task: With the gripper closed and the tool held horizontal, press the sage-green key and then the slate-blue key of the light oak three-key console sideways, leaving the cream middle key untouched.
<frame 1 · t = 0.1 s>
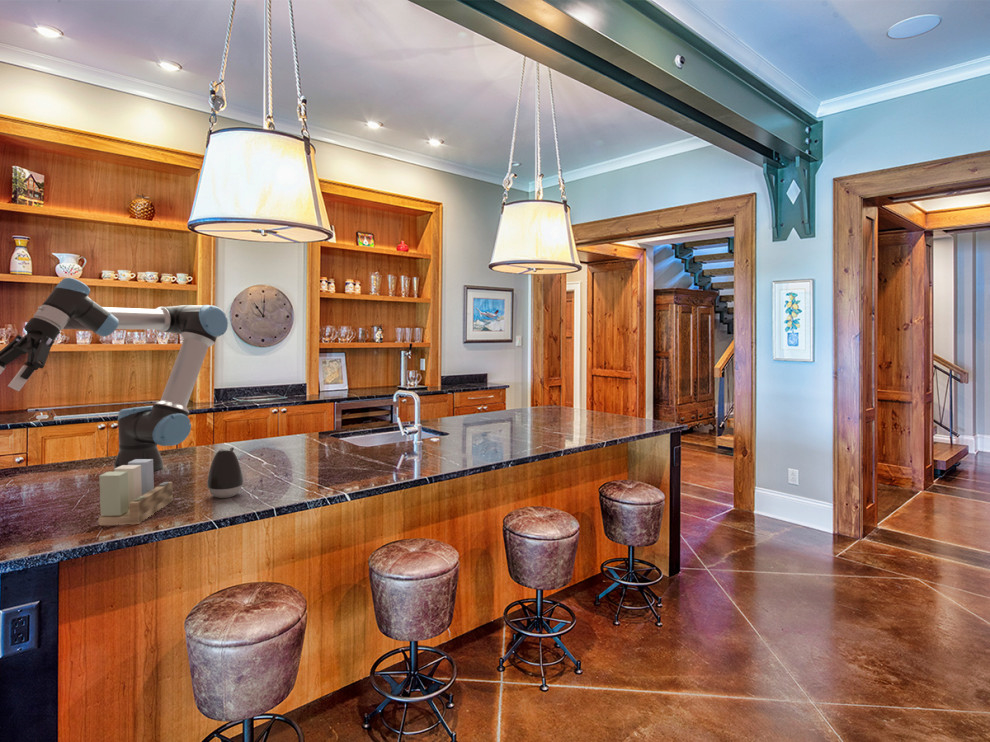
cream key: (128, 485, 155), point 8 cm above the countertop, slide at 0.0 cm
sage key: (114, 493, 148), point 8 cm above the countertop, slide at 0.0 cm
slate key: (141, 479, 162), point 8 cm above the countertop, slide at 0.0 cm
key console: (129, 512, 156), on the countertop
pump dispenser: (225, 496, 173), on the countertop
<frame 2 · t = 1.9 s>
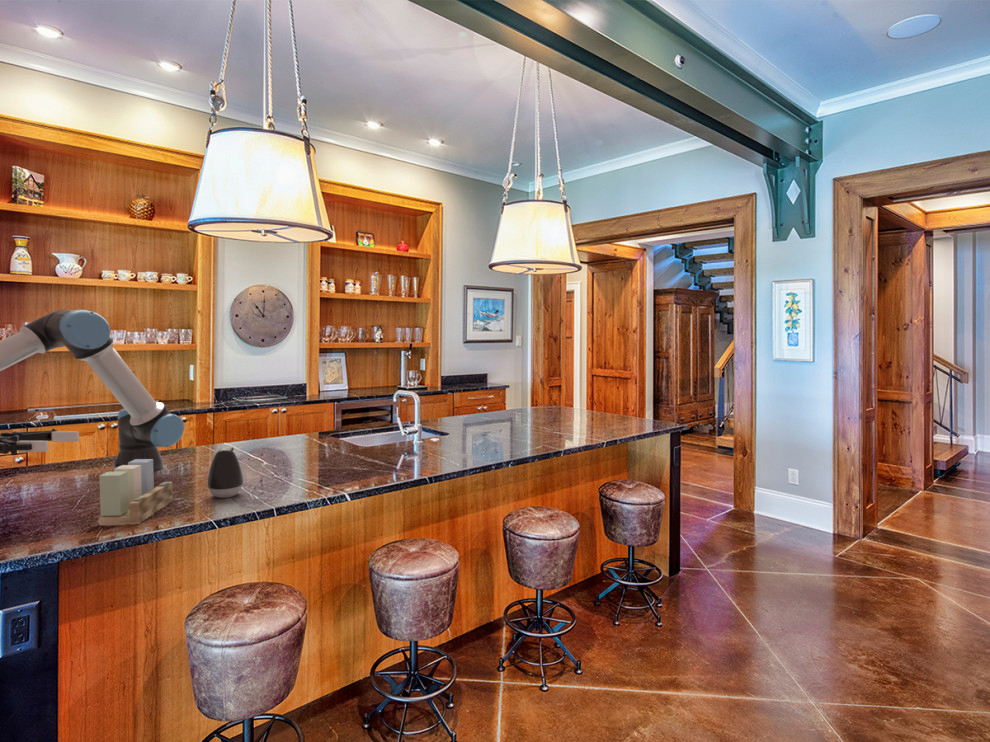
hand: (63, 441, 146), 22 cm above the countertop, tool horizontal, fingers open, 12 cm apart
nothing on the countertop moved.
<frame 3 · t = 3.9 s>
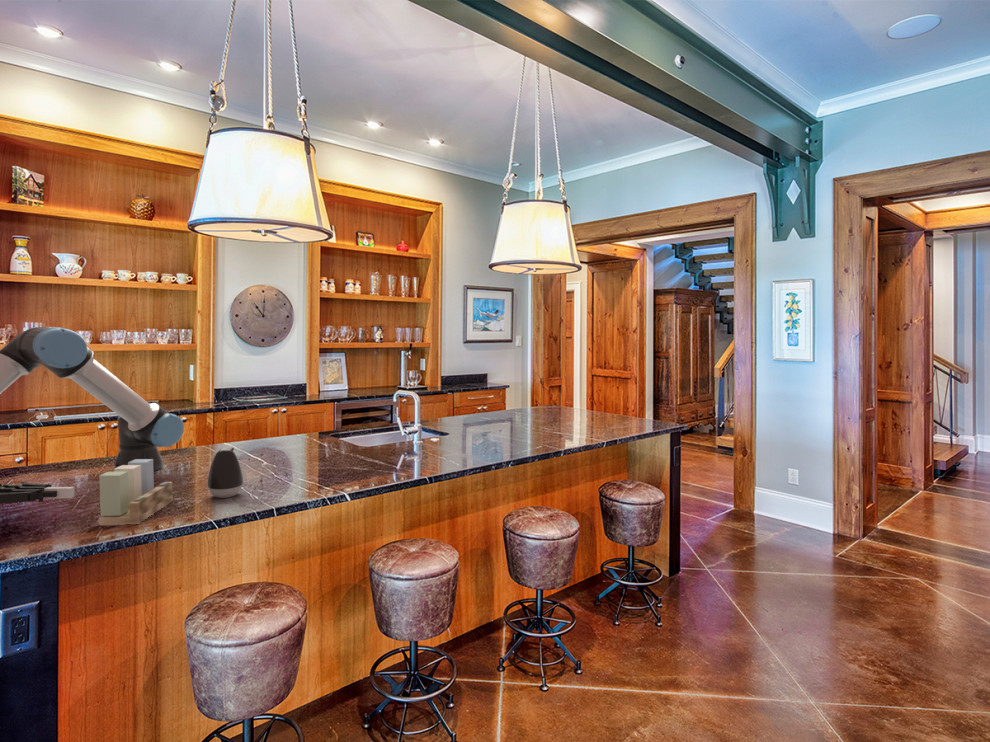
hand: (72, 492, 147), 8 cm above the countertop, tool horizontal, fingers closed
nothing on the countertop moved.
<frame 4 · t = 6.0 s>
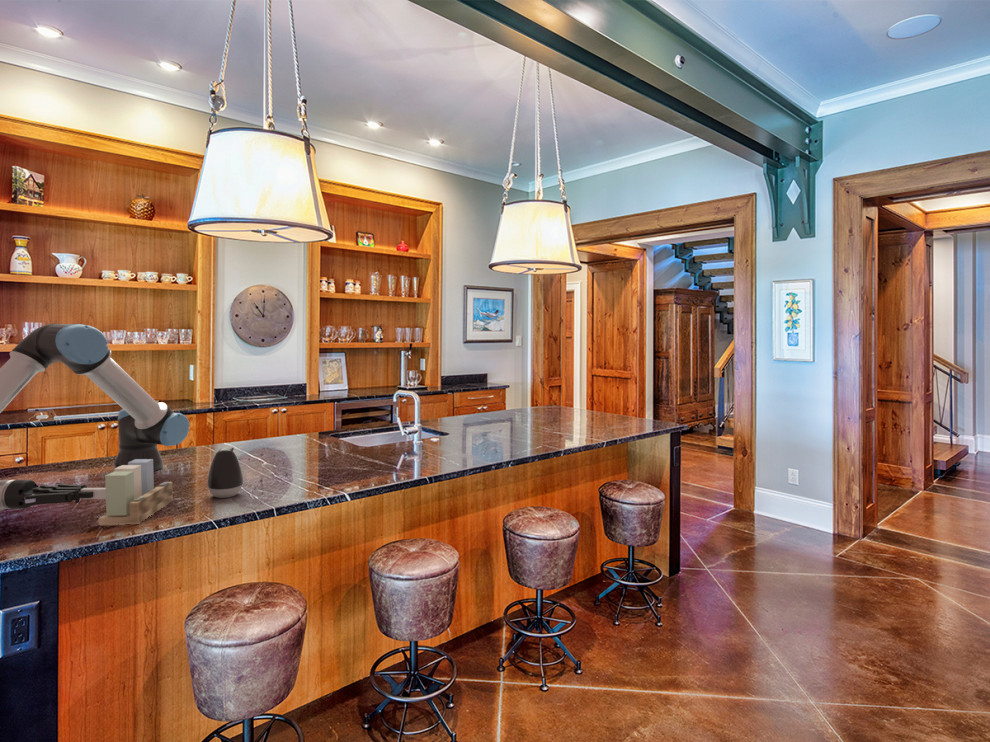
hand: (108, 493, 148), 8 cm above the countertop, tool horizontal, fingers closed
sage key: (119, 493, 149), point 8 cm above the countertop, slide at 1.4 cm, touching gripper
everything else where it was.
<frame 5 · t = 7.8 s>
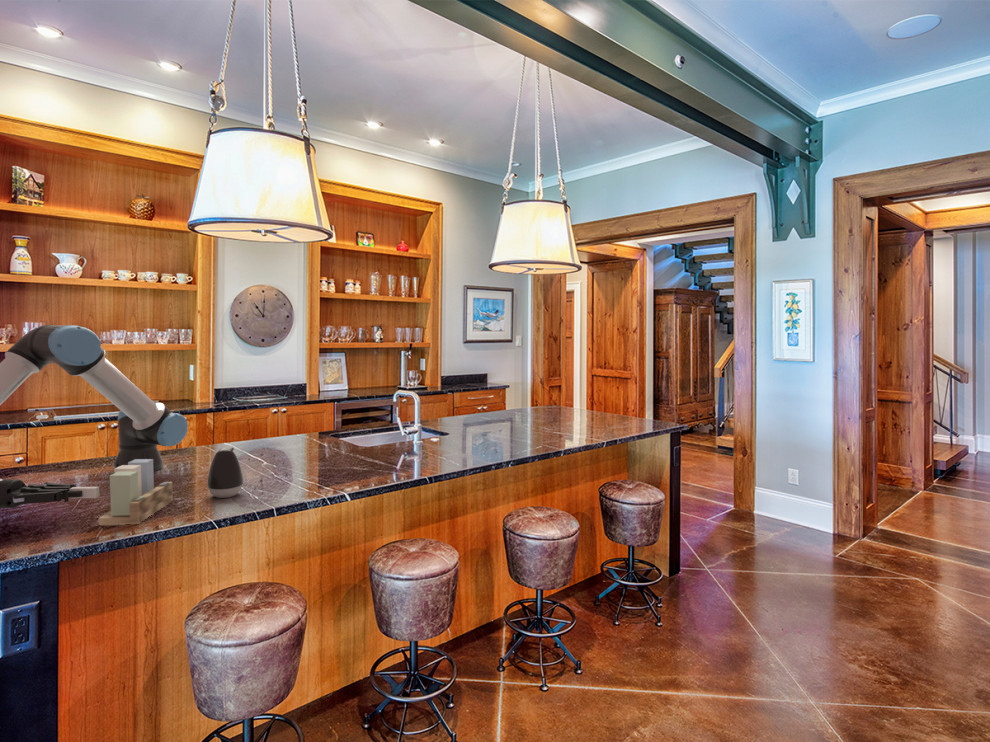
hand: (97, 492, 148), 8 cm above the countertop, tool horizontal, fingers closed
sage key: (124, 493, 149), point 8 cm above the countertop, slide at 2.6 cm
everything else where it was.
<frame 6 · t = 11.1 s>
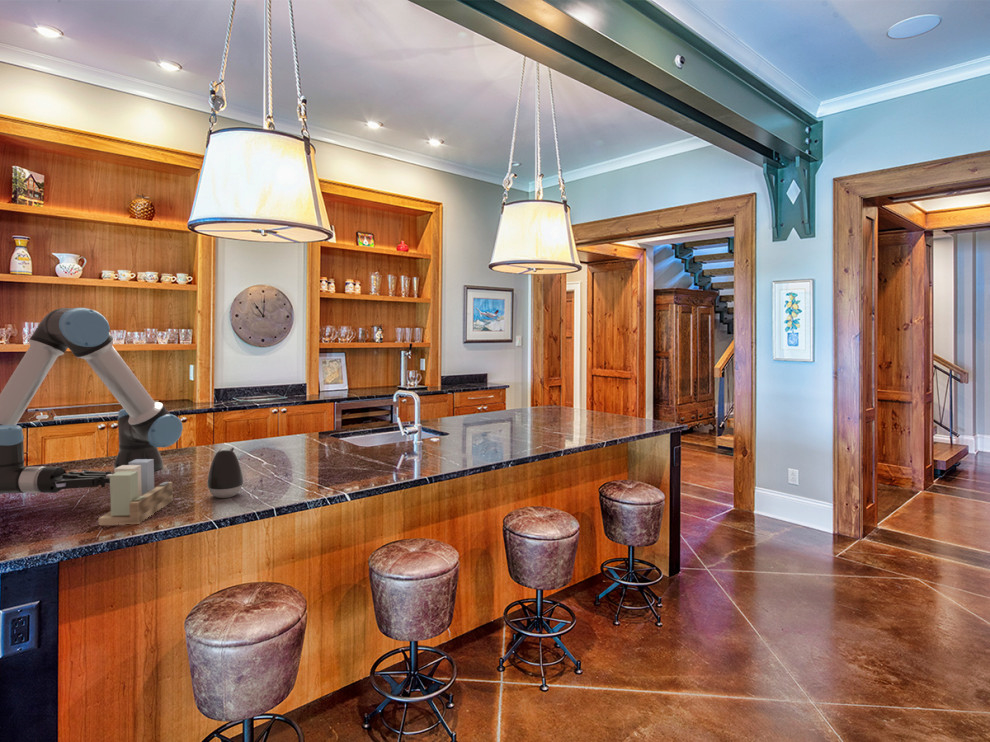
hand: (130, 479, 162), 8 cm above the countertop, tool horizontal, fingers closed
slate key: (141, 479, 162), point 8 cm above the countertop, slide at 0.2 cm, touching gripper
everything else where it was.
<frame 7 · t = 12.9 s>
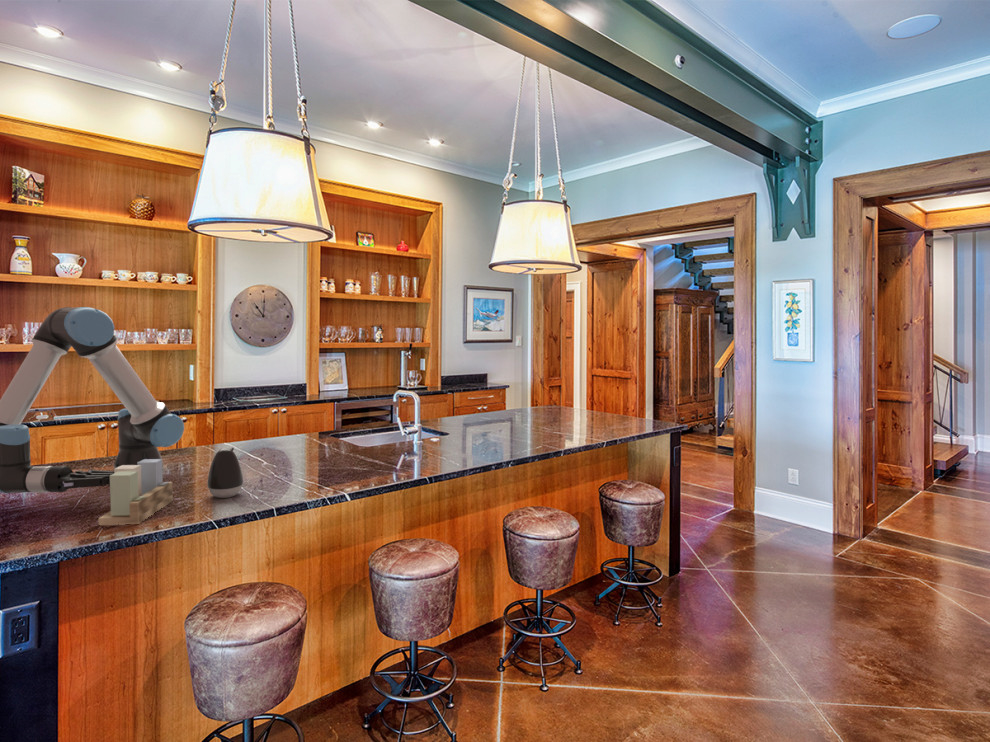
hand: (138, 478, 162), 8 cm above the countertop, tool horizontal, fingers closed
slate key: (150, 478, 163), point 8 cm above the countertop, slide at 2.6 cm
everything else where it was.
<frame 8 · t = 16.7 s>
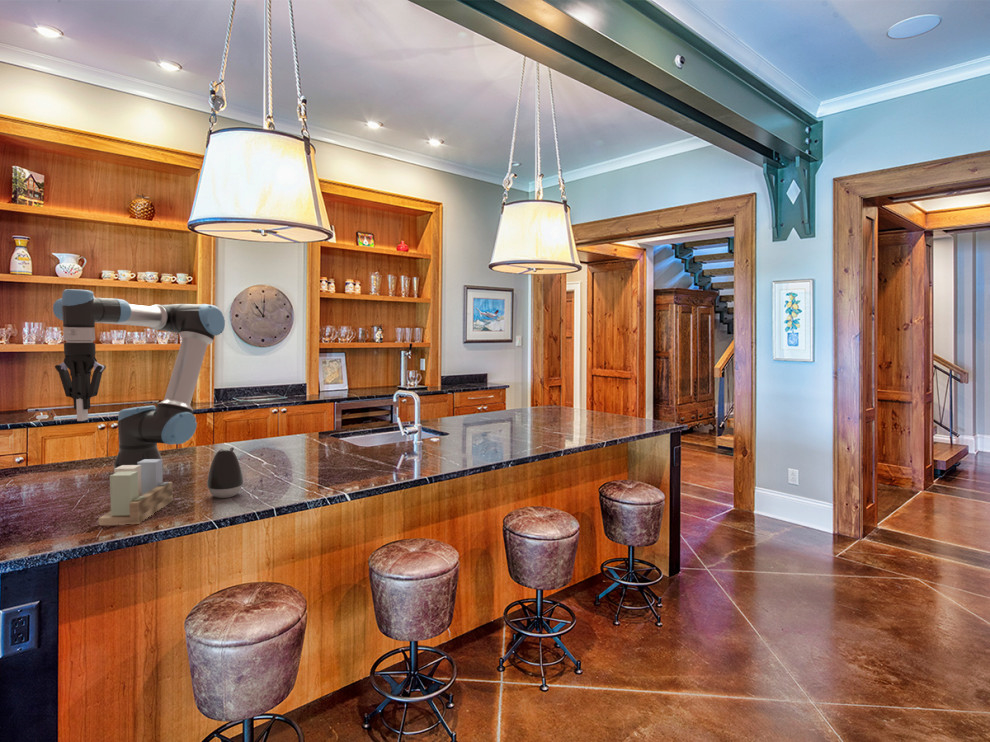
hand: (82, 420, 165), 24 cm above the countertop, tool pointing down, fingers closed
nothing on the countertop moved.
at the end: sage key slide at 2.6 cm; slate key slide at 2.6 cm; cream key slide at 0.0 cm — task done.
